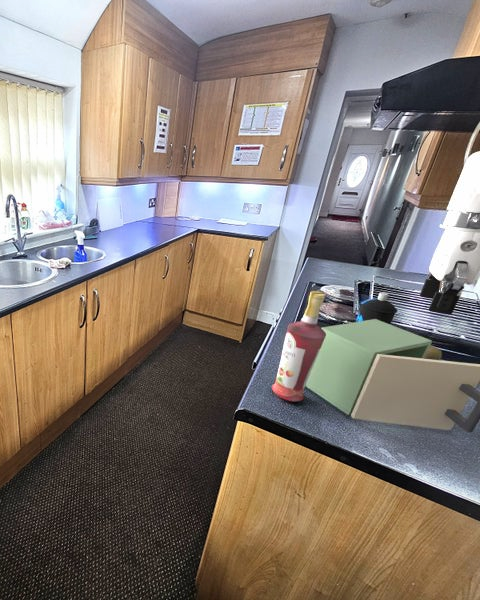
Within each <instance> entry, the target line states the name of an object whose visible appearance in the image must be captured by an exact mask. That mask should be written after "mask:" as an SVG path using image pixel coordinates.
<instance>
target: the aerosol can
mask: <svg viewBox="0 0 480 600" xmlns="http://www.w3.org/2000/svg"><path fill="white" fill-rule="evenodd" d="M388 297H389V293H387V292H383V291H382V292H379V293H378V296H377V298H369V299H366V300H364V301H361V302H360V305H361V306H360V308H359V311H358V313H357V316H356V319H355V321H354V322H360V321H366V320H372V319H377V320H379V321H382V322H385V323H387V324H390V325H392V322H393V320H394V317H395V315H396V313H398V309H397V308H396V307H395V305H394V304H393V303H391V302H390V301H388V300H387V299H388Z"/></svg>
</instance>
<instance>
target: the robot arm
mask: <svg viewBox="0 0 480 600" xmlns="http://www.w3.org/2000/svg"><path fill="white" fill-rule="evenodd" d="M439 228H441V229H445V230H444V231H443V234H442V235H441V238H440V240H439V243H438V244H437V247H436V249H435V251H434V253H433V256H432V259H431V261H430V264H429V268H428V270H429V273H428V274H427V277H426V278H425V281H424V282H423V285H422V287H421V290H420V293H419V297H421V298H424V299H432V300H431V302H430V304H429V307H428V311H429V312H431V313H436V314H443V315H447V316H449V315H452V314H453V313H454V310H455V309H456V306H457V304H458V302H459V300H460V297H461V296H462V294H463V290H464V289H465V285H468V286H471V285H473V284H475V282H476V280H477V277H478V275H479V272H480V150H479V151H476V152H474V153H472V154H470V155H469V156H468V158H467V159H466V161H465V163H464V165H463V168H462V171H461V173H460V175H459V178H458V180H457V183H456V185H455V187H454V189H453V193H452V195H451V197H450V200H449V202H448V205H447V207H446V210H445V212H444V215H443V217H442V220H441V222H440V224H439Z"/></svg>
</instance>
